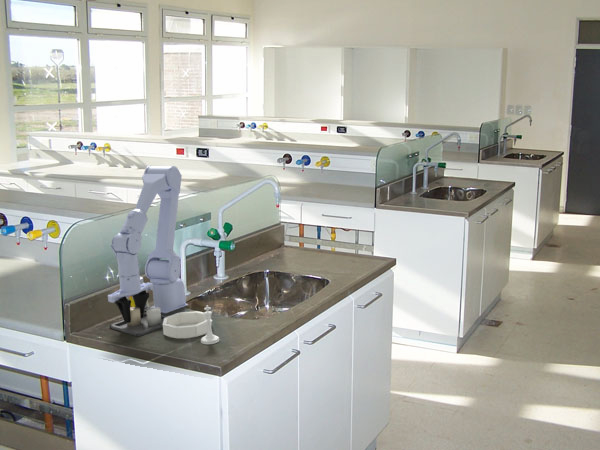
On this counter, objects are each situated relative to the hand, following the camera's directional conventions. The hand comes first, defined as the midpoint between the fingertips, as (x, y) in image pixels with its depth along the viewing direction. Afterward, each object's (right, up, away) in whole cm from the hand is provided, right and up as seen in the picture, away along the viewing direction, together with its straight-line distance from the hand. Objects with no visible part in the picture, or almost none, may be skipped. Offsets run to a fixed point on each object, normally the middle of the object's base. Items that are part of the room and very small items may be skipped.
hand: (133, 319), depth 207 cm
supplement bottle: (-1, +1, +14) cm, 14 cm away
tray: (+3, -2, -1) cm, 4 cm away
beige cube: (0, -1, 0) cm, 1 cm away
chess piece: (+24, -4, -15) cm, 29 cm away
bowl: (+17, -2, -7) cm, 18 cm away
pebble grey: (+6, -1, -1) cm, 6 cm away
